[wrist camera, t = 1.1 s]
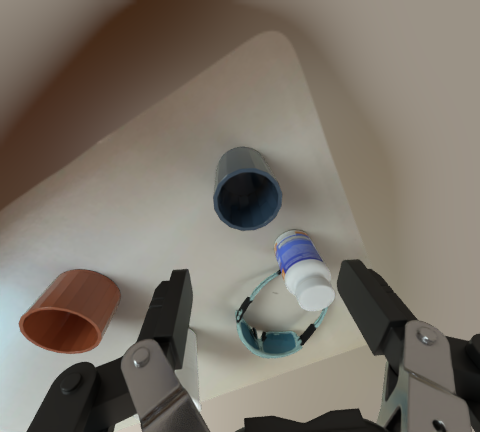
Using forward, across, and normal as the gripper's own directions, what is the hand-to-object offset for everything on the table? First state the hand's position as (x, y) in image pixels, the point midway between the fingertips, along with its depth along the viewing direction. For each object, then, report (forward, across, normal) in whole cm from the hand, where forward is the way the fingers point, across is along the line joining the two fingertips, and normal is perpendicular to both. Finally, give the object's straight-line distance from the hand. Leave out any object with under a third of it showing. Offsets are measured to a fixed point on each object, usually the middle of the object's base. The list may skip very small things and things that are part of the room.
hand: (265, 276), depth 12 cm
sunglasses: (+17, -6, +24) cm, 30 cm away
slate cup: (+17, 0, 0) cm, 17 cm away
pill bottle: (+17, -7, +11) cm, 22 cm away
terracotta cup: (+17, +24, +18) cm, 35 cm away
